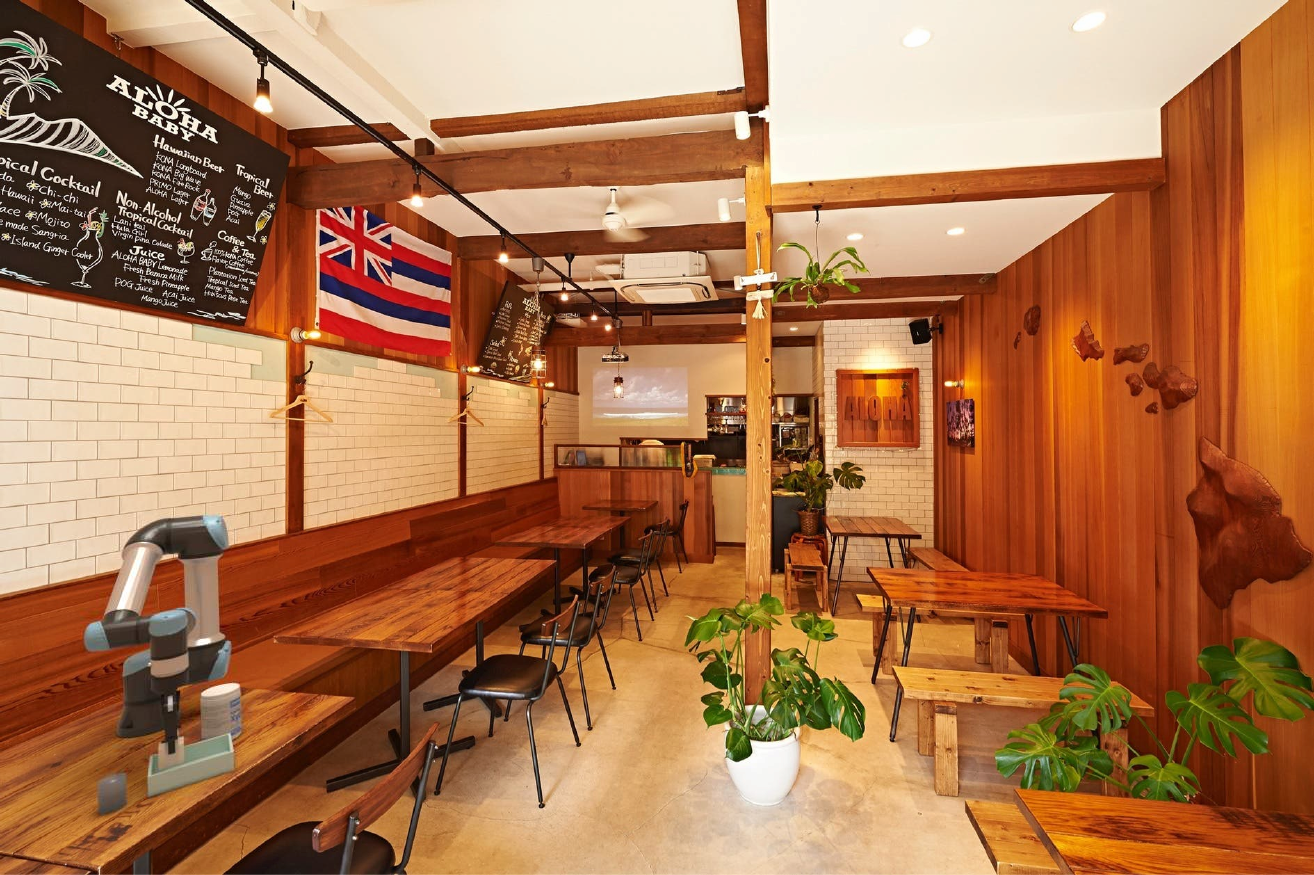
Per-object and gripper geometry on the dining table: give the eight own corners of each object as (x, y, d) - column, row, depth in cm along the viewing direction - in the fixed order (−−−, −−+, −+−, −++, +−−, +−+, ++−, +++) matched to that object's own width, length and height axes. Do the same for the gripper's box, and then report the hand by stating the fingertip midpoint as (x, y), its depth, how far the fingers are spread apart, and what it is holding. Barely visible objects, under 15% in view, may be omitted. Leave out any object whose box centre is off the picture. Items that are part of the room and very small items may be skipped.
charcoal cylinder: (99, 807, 138) (98, 778, 138) (127, 798, 141) (126, 770, 141) (97, 817, 134) (96, 787, 134) (126, 808, 137) (125, 779, 137)
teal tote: (150, 774, 151) (150, 756, 151) (231, 750, 162) (230, 733, 162) (148, 797, 141) (147, 777, 141) (234, 770, 152) (233, 751, 152)
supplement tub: (240, 740, 168) (239, 690, 168) (199, 751, 163) (198, 699, 163) (242, 727, 176) (241, 679, 176) (203, 737, 171) (202, 688, 171)
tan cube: (159, 762, 150) (159, 743, 150) (184, 755, 153) (183, 736, 153) (158, 770, 146) (158, 750, 146) (184, 762, 149) (183, 743, 149)
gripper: (152, 666, 154) (154, 752, 154) (149, 686, 140) (151, 781, 140) (188, 658, 159) (190, 742, 159) (188, 677, 145) (191, 769, 145)
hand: (172, 760), depth 149 cm, fingers closed on tan cube, 5 cm apart
